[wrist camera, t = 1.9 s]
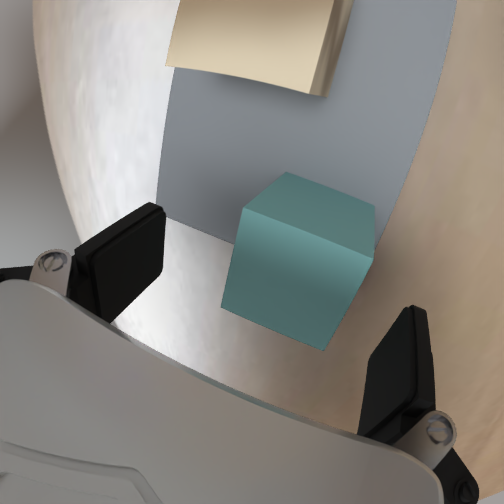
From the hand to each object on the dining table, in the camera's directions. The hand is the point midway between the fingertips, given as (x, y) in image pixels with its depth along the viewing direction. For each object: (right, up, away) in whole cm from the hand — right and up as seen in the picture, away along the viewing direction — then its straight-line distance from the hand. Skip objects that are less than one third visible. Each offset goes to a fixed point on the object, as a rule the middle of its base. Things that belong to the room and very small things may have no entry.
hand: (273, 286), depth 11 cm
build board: (+1, +9, +4) cm, 10 cm away
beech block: (+1, +12, +2) cm, 12 cm away
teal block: (+3, +3, +6) cm, 7 cm away
